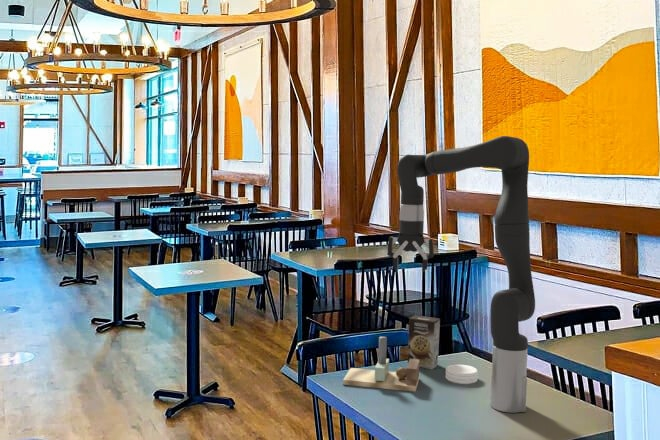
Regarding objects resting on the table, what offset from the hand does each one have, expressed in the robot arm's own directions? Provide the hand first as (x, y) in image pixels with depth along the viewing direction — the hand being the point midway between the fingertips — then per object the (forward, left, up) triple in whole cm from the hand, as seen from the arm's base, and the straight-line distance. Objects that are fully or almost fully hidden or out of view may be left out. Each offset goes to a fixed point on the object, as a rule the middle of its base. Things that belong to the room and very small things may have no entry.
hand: (410, 270), depth 195 cm
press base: (+7, +7, -34) cm, 36 cm away
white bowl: (-17, -3, -35) cm, 39 cm away
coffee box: (-4, -14, -34) cm, 37 cm away
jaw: (+7, +7, -32) cm, 34 cm away
